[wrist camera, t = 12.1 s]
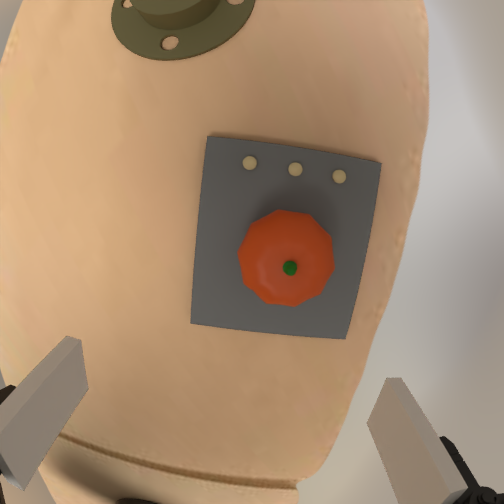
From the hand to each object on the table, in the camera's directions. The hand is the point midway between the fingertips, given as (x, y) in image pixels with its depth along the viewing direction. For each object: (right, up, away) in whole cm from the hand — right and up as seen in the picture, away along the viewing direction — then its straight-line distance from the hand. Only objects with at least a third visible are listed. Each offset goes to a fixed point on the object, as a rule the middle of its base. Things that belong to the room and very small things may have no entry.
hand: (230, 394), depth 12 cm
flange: (-6, +31, +12) cm, 34 cm away
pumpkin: (+4, +6, +17) cm, 19 cm away
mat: (+4, +7, +18) cm, 19 cm away
